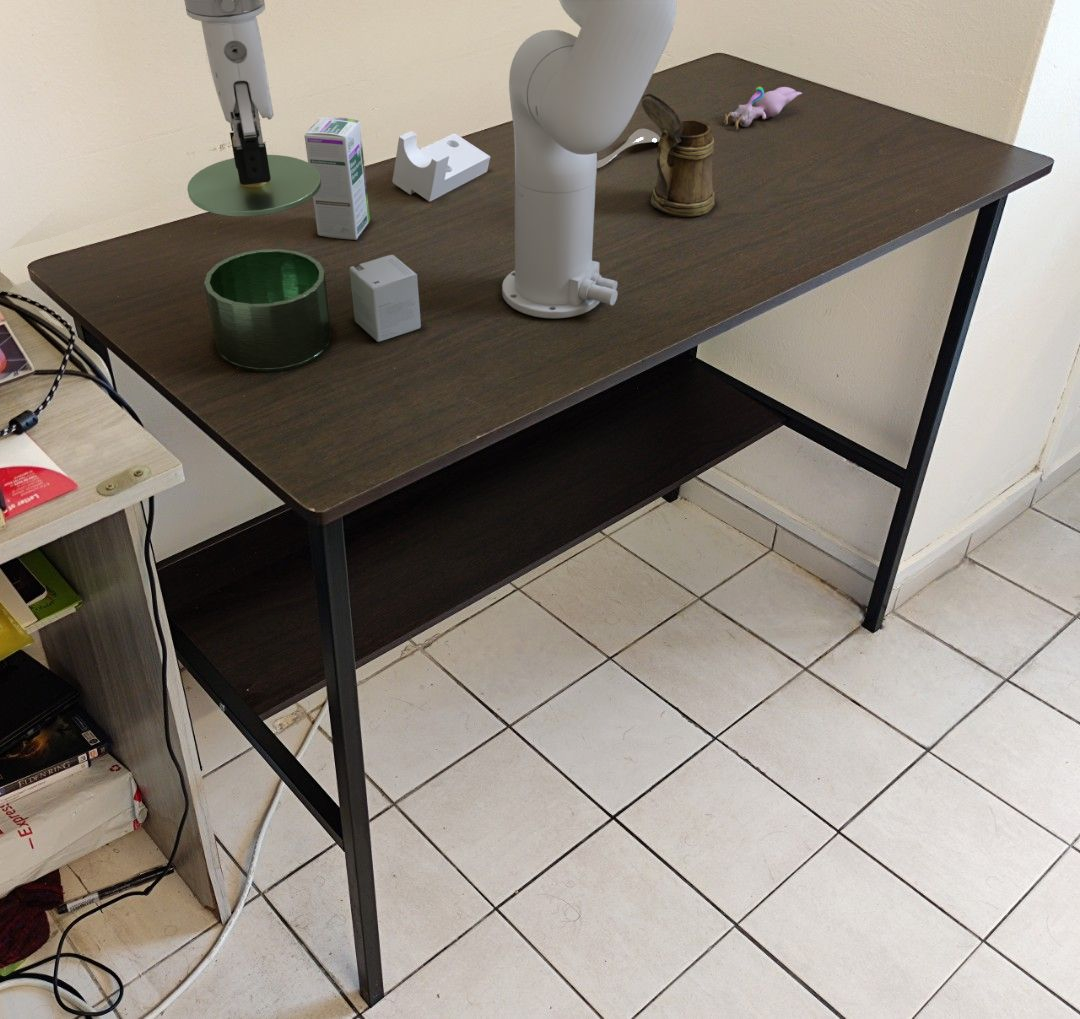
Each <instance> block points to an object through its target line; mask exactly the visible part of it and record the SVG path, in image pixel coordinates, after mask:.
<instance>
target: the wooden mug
mask: <svg viewBox="0 0 1080 1019" xmlns="http://www.w3.org/2000/svg"><path fill="white" fill-rule="evenodd" d="M641 106H642V109H643V111H644V113H645V114H646V115H647V117H648V118H649V119H650V121H651V122H652V123H653V124H655V125H656V127H658V129H659V130H660V131H661V135H660V140H659V144H657V150H656V167H657V171H658V173H657V178H656V183H655V186H654V187H653V189H652V193H651V199H650V204H651V205H652V206H653V207H654V208H655V209H657V210H658V211H659V212H661V213H664V214H666V215H669V216H672V217H679V218H693V217H700V216H703V215H706V214H707V213H710V211H711V210H712V209H713V208H714V206H715V204H716V203H715V191H714V189H713V152H714V150H715V139H714V137H713V127H712V126H711V125H710V123H708V122H705V121H703V120H700V119H697V118H696V119H695V118H685V119H680V118H679V115H678V114H677V112H676V111H675V110H674V109H673V108H672V107H671V106H670V105H669V104H667V103H666V102H665V101H664V100H662V99H661V98H660V97H658V96H656V95H654V94H652V93H647V94H643V95H642V97H641Z"/></svg>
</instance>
